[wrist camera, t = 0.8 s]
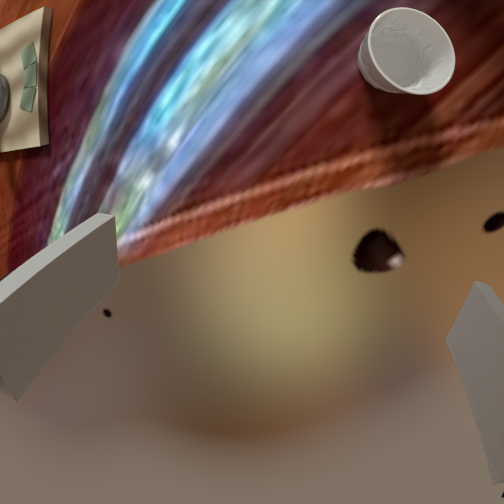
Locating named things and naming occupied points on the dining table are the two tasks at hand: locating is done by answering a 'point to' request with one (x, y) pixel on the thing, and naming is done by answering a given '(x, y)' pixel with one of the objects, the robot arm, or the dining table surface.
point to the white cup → (406, 53)
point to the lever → (4, 96)
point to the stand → (25, 80)
